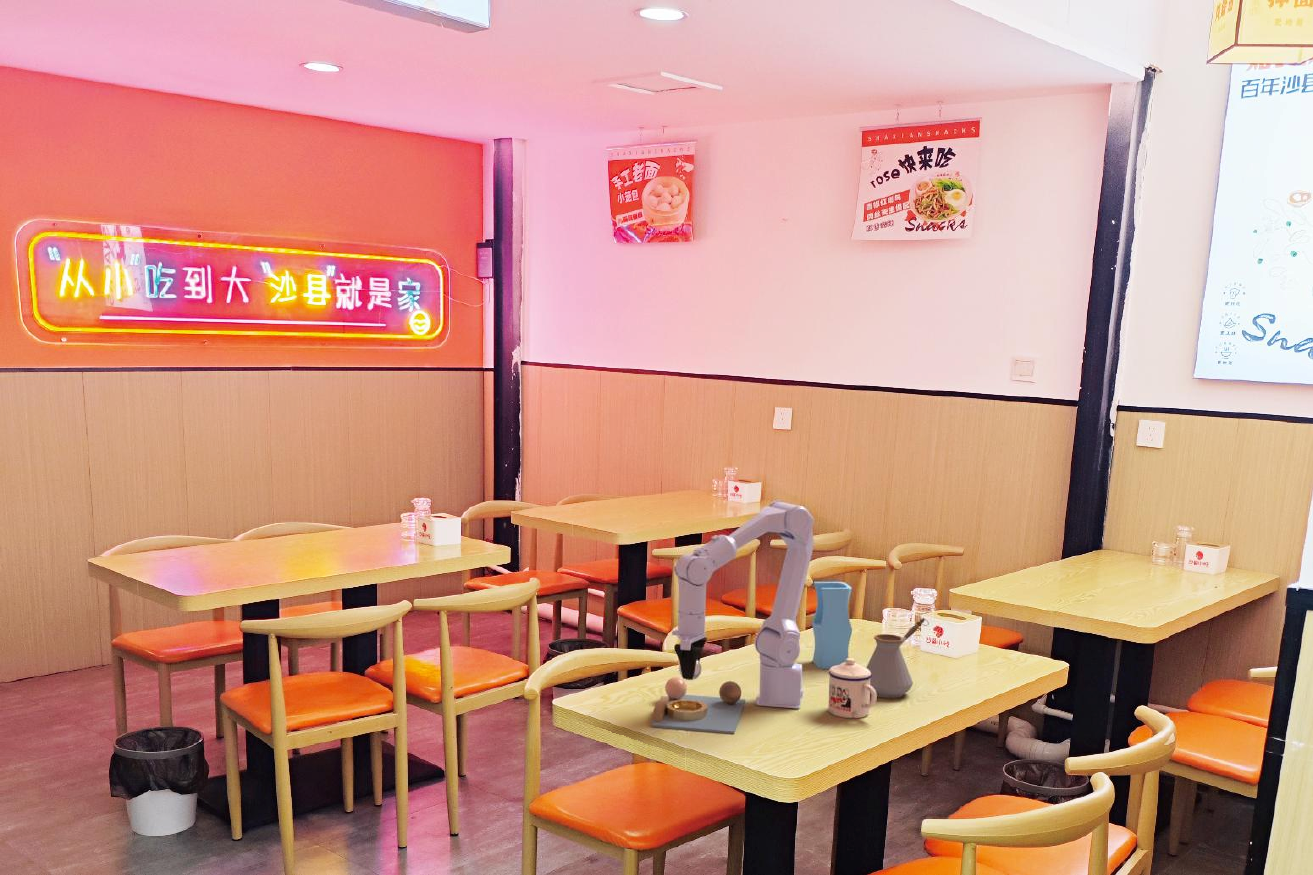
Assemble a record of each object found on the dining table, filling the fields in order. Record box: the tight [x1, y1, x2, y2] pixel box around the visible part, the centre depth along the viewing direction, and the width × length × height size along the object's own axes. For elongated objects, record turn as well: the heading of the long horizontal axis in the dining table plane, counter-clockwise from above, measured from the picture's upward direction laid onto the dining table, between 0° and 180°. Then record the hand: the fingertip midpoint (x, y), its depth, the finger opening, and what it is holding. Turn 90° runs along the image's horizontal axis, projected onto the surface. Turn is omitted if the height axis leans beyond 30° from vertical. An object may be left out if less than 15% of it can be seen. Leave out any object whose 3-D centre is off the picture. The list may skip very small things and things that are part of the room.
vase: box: [811, 581, 853, 670], centre depth 266 cm, size 8×8×20 cm
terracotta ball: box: [664, 676, 688, 700], centre depth 236 cm, size 5×5×5 cm
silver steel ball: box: [678, 660, 702, 681], centre depth 227 cm, size 5×5×5 cm
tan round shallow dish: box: [666, 699, 707, 721], centre depth 226 cm, size 8×8×2 cm
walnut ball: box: [718, 680, 742, 704], centre depth 234 cm, size 5×5×5 cm
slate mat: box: [650, 694, 746, 735], centre depth 228 cm, size 17×21×3 cm
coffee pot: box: [865, 617, 930, 699], centre depth 248 cm, size 21×12×15 cm, turn 135°
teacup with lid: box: [828, 657, 878, 719], centre depth 229 cm, size 12×9×12 cm
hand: (690, 674), depth 227 cm, fingers closed on silver steel ball, 5 cm apart
